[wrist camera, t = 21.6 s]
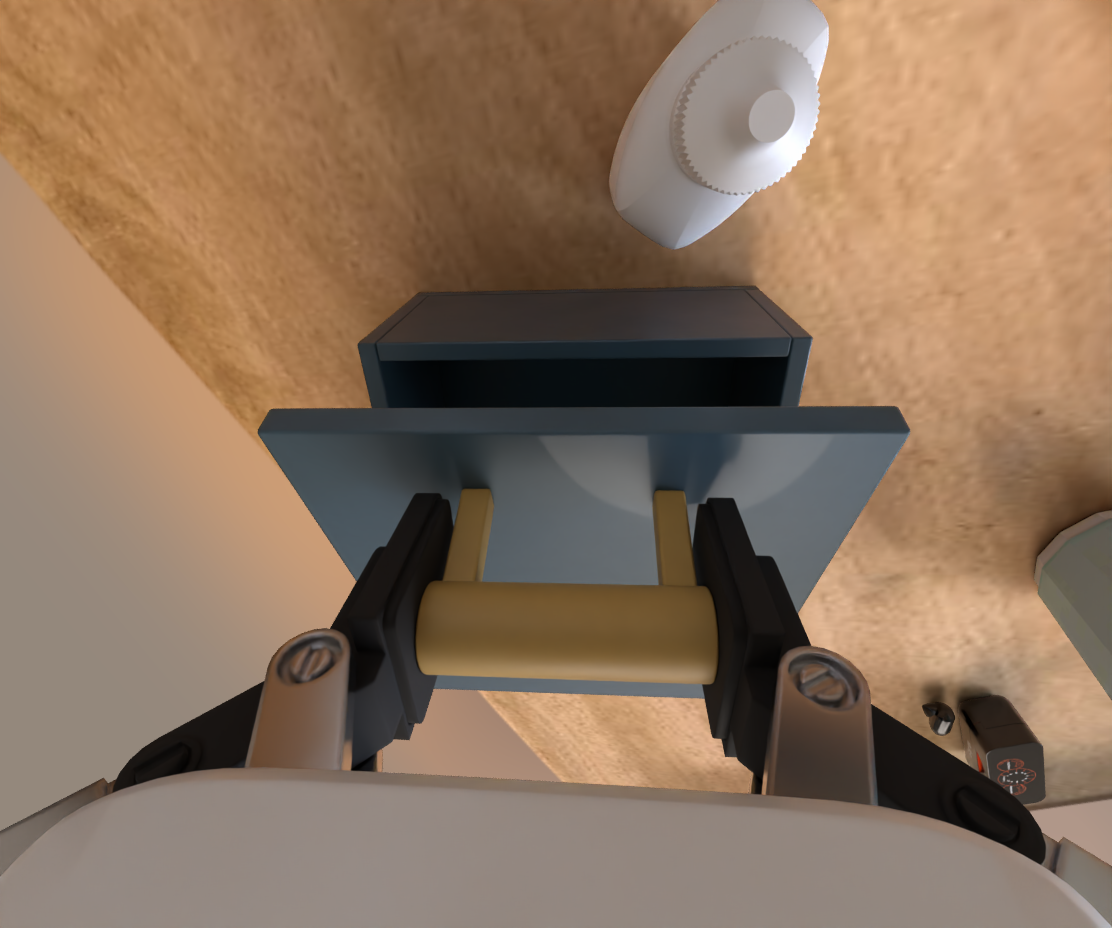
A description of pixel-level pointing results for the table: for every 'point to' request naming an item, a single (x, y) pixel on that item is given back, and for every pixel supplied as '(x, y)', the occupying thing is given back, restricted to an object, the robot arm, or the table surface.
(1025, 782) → the wireless earbuds
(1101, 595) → the disposable coffee cup
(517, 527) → the lid
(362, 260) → the table surface
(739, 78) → the eye dropper bottle
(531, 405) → the chest
